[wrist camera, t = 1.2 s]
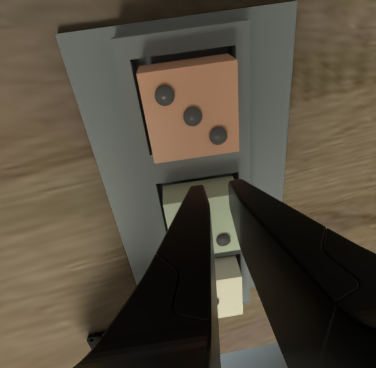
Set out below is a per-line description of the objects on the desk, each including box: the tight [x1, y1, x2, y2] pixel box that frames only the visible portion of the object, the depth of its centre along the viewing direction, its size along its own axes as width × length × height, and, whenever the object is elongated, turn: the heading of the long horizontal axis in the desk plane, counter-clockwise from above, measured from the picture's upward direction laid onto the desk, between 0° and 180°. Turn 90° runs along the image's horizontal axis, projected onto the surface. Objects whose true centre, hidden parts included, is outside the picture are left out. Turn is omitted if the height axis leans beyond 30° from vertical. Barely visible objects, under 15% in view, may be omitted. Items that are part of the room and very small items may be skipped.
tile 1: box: [215, 255, 243, 318], centre depth 25 cm, size 5×5×2 cm
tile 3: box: [136, 53, 239, 164], centre depth 16 cm, size 5×5×2 cm
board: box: [55, 1, 297, 304], centre depth 22 cm, size 25×14×2 cm, turn 7°
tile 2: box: [162, 176, 241, 253], centre depth 20 cm, size 5×5×2 cm
